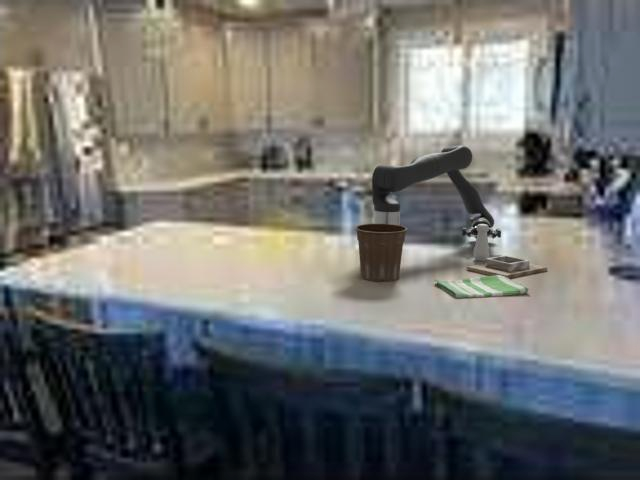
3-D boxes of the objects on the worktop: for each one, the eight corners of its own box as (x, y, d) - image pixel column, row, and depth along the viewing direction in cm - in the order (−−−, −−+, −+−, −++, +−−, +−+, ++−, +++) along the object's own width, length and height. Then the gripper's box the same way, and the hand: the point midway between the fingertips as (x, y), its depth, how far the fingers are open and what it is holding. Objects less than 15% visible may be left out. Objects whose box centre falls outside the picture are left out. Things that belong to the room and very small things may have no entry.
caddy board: (505, 279, 224) (506, 267, 223) (466, 270, 236) (467, 259, 235) (547, 270, 237) (547, 259, 236) (508, 262, 249) (508, 252, 249)
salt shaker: (489, 262, 249) (491, 226, 247) (472, 261, 250) (474, 225, 248) (488, 259, 255) (490, 223, 253) (472, 258, 256) (474, 222, 254)
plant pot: (391, 286, 212) (393, 233, 209) (344, 279, 220) (345, 228, 217) (413, 276, 226) (415, 226, 223) (369, 270, 234) (370, 222, 231)
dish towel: (432, 285, 216) (432, 276, 216) (502, 282, 221) (502, 273, 221) (456, 300, 199) (456, 290, 199) (531, 296, 204) (532, 287, 204)
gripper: (463, 218, 276) (462, 224, 260) (500, 220, 273) (502, 226, 257) (462, 237, 277) (461, 244, 261) (499, 239, 274) (500, 246, 258)
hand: (481, 235), depth 259 cm, fingers open, 8 cm apart
